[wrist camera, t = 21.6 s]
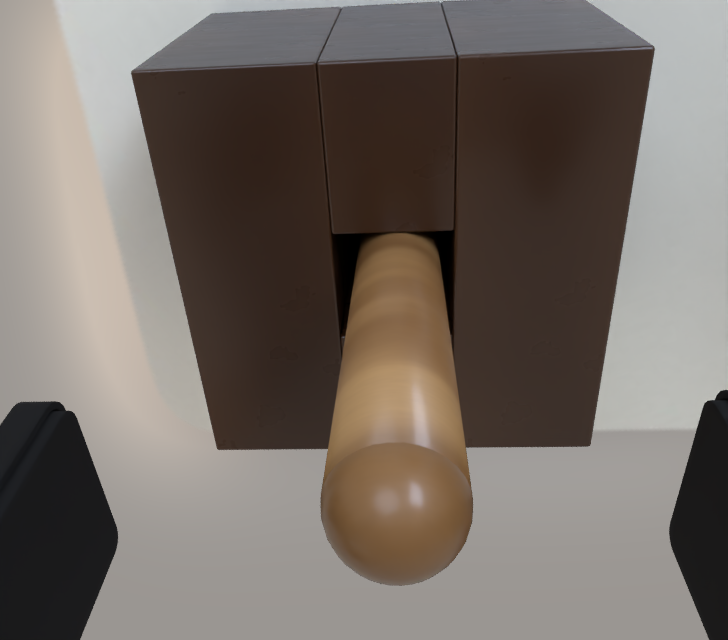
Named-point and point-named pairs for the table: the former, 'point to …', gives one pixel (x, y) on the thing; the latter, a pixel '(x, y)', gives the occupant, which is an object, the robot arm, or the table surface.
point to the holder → (398, 199)
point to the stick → (397, 420)
